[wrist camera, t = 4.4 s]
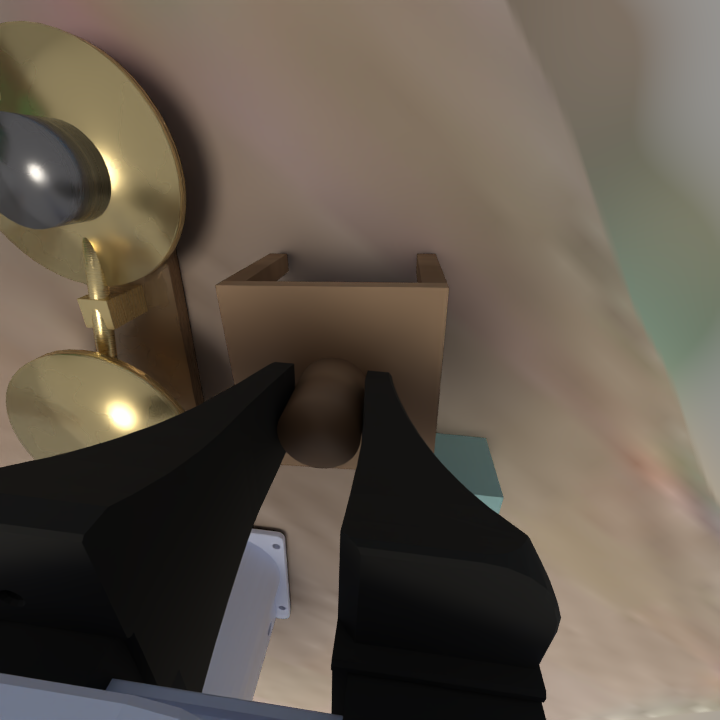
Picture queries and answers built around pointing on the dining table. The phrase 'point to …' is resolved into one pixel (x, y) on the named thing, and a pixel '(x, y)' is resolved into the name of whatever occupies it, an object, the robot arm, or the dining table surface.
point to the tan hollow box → (337, 350)
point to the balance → (94, 239)
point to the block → (471, 466)
